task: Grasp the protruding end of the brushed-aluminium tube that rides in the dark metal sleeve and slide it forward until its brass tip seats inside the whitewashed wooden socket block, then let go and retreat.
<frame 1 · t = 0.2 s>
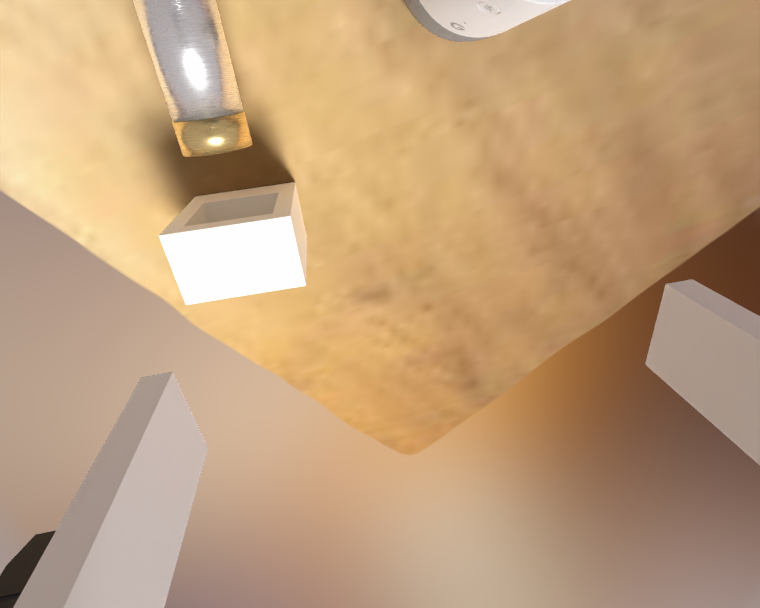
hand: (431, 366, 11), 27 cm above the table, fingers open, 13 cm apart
socket block: (253, 218, 36), on the table
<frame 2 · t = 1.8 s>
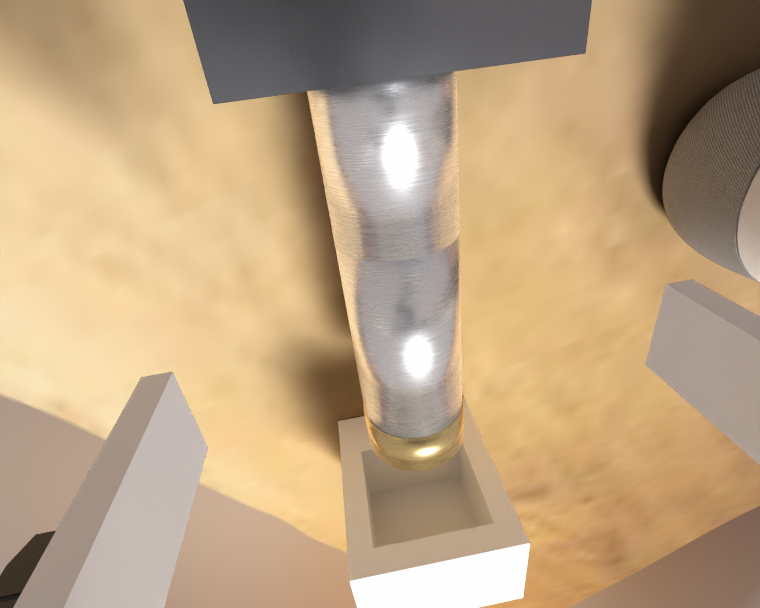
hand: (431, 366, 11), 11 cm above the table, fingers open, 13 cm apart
smart speaker: (725, 157, 21), on the table
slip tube: (387, 145, 13), point 5 cm above the table, slide at 0.0 cm
socket block: (404, 436, 28), on the table
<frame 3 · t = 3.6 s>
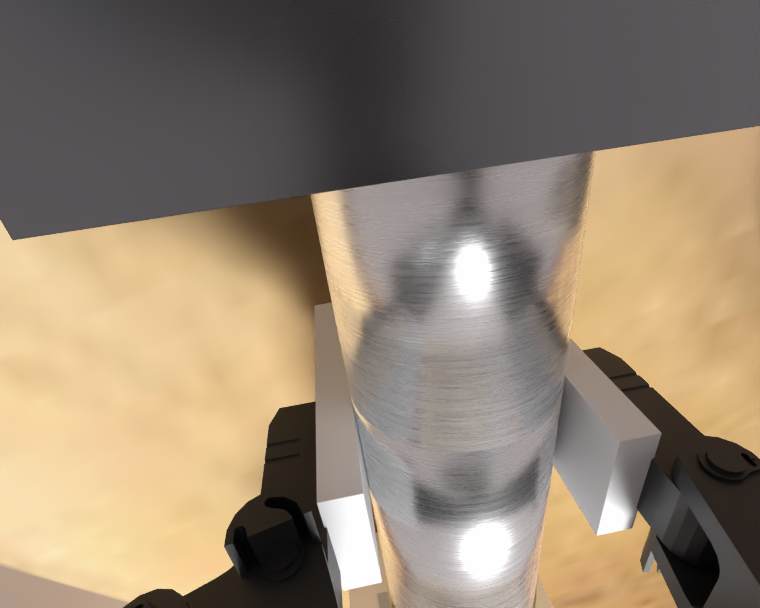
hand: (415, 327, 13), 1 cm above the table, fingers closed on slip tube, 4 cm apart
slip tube: (445, 235, 7), point 6 cm above the table, slide at 0.0 cm, touching gripper
socket block: (430, 550, 22), on the table
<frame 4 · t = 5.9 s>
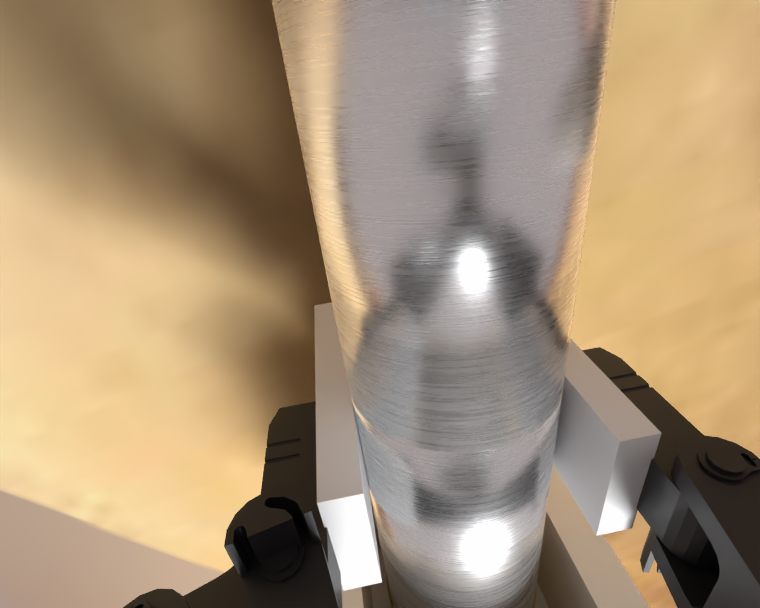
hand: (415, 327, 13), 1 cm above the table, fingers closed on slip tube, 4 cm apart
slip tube: (445, 235, 7), point 5 cm above the table, slide at 7.5 cm, touching gripper
socket block: (420, 453, 18), on the table
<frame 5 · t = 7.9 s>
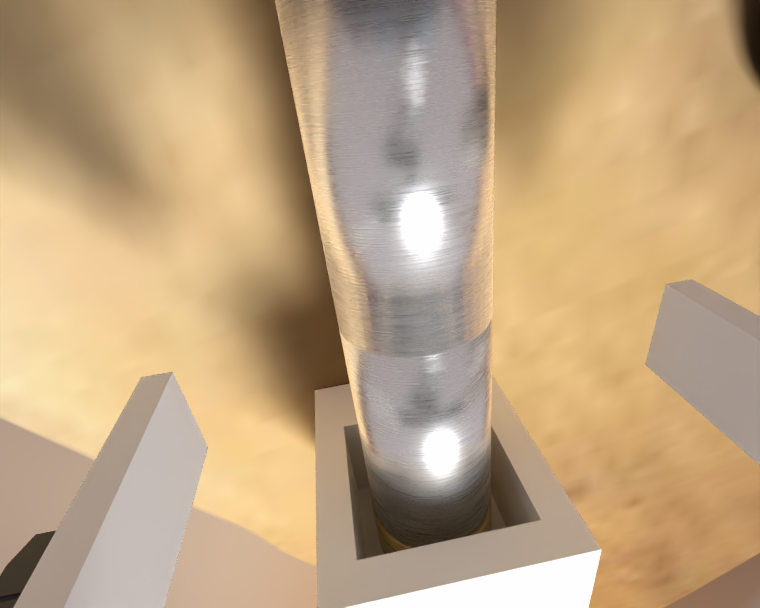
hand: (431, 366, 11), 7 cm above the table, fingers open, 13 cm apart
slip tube: (404, 210, 11), point 5 cm above the table, slide at 7.5 cm
socket block: (404, 413, 21), on the table
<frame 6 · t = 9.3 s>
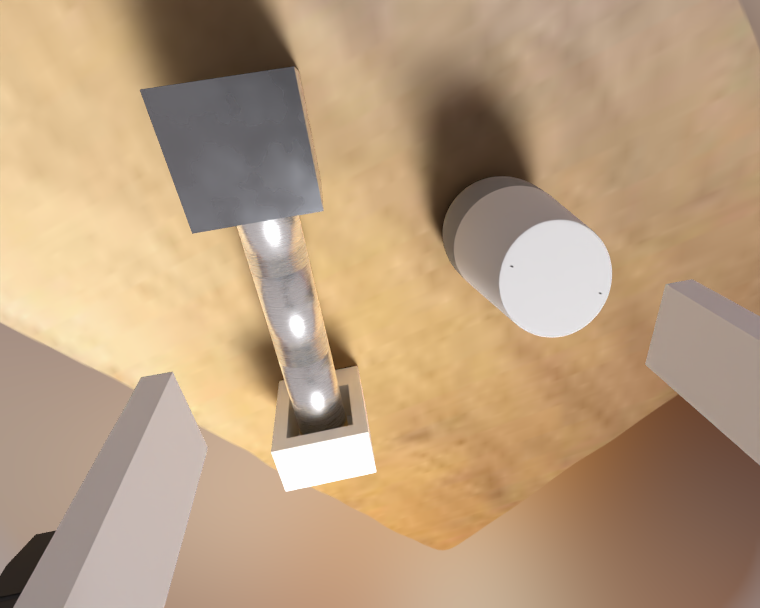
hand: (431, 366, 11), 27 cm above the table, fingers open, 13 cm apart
smart speaker: (483, 221, 38), on the table
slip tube: (295, 321, 34), point 6 cm above the table, slide at 7.5 cm
socket block: (323, 391, 44), on the table
sleeve: (258, 138, 32), on the table
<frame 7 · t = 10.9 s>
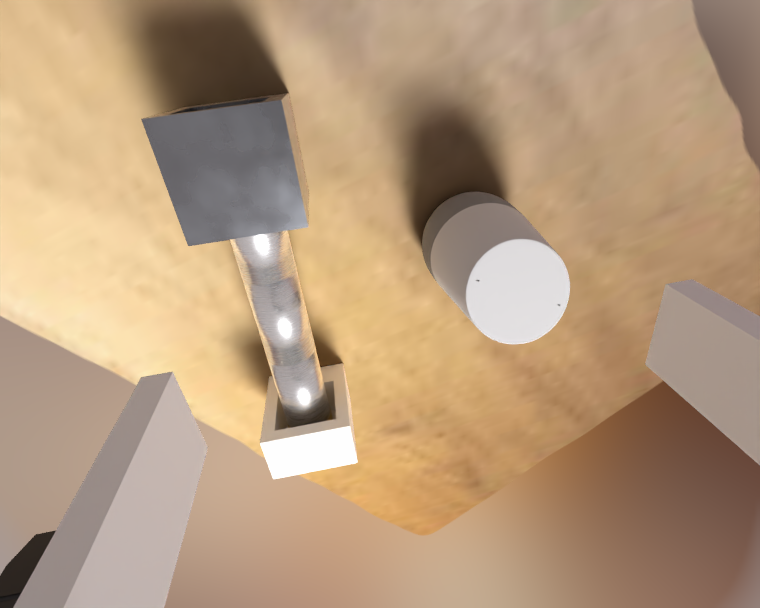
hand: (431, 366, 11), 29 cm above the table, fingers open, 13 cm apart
smart speaker: (461, 231, 41), on the table
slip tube: (283, 323, 37), point 5 cm above the table, slide at 7.5 cm
socket block: (310, 387, 47), on the table
sleeve: (250, 153, 35), on the table
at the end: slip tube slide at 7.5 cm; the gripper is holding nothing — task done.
